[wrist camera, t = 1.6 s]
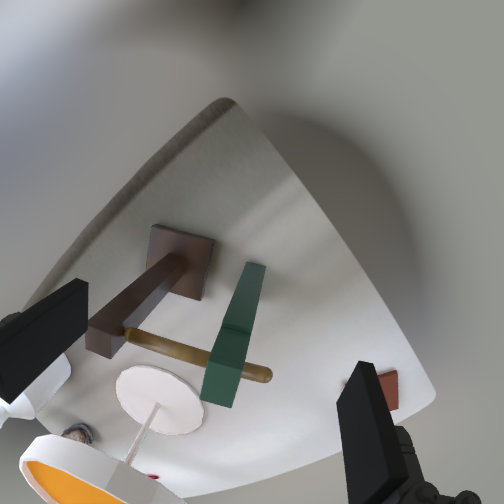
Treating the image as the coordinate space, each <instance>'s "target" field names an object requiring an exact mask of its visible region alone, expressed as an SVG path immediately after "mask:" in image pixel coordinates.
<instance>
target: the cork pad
mask: <svg viewBox="0 0 504 504" xmlns="http://www.w3.org/2000/svg"><path fill="white" fill-rule="evenodd" d="M378 378H379V381H380V384H381V387H382V390H383V393H384V396H385V399H386V402H387V405H388V408H389V411H392V410H396V409H398V373H397V371H396V370H395V371H392V372H389V373H385V374H382V375H378ZM345 386H346V384H345Z"/></svg>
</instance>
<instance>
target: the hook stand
mask: <svg viewBox="0 0 504 504" xmlns="http://www.w3.org/2000/svg"><path fill="white" fill-rule="evenodd" d="M214 241H215V240H213V239H209V238H205V237H202V236H198V235H194V234H190V233H186V232H183V231H179V230H175V229H171V228H167V227H164V226H160V225H156V224H155V225H153V226H152V227H151V234H150V240H149V247H148V255H147V262H146V270H145V273H143V274H142V275H141V276H140V277H139V278H137V279H136V280H135V281H134V282H133V283H131V284H130V285H129V286H128V287H127V288H125V289H124V290H123V291H122V292H121V293H120V294H118V295H117V296H116V297H115V298H114V299H112V300H111V301H110V302H109V303H108V304H107V305H105V306H104V307H103V308H102V309H101V310H100V311H98V312H97V313H96V314H95V315H94V316H93V317H92V318H90V319H89V320H88V330H87V331H86V332H85V348H86V349H87V350H90V351H92V352H94V353H97V354H99V355H101V356H104V357H106V358H108V359H112V357H113V356H114V355H115V354H116V353H117V351H118V350H119V349H120V348H121V347H122V346H123V344H124V343H125V342H126V341H127V342H129V343H132V344H135V345H138V346H140V347H143V348H146V349H149V350H152V351H154V352H157V353H160V354H163V355H166V356H169V357H172V358H175V359H178V360H181V361H185V362H188V363H191V364H194V365H198V366H201V367H204V368H206V366H207V361H208V358H209V356H210V353H211V352H208V351H205V350H201V349H198V348H195V347H192V346H188V345H185V344H182V343H179V342H176V341H172V340H169V339H166V338H163V337H160V336H157V335H154V334H151V333H149V332H146V331H143V330H140V329H137V328H138V327H139V326H140V324H141V323H142V322H143V321H144V320H145V319H146V317H147V316H148V315H149V314H150V313H151V312H152V310H153V309H154V308H155V307H156V306H157V305H158V304H159V302H160V301H161V300H162V299H163V298H164V297H165V296H166V294H167V293H168V292H171V293H175V294H178V295H181V296H185V297H188V298H191V299H195V300H198V301H201V300H202V298H203V294H204V289H205V284H206V279H207V274H208V270H209V265H210V260H211V255H212V250H213V246H214ZM272 377H273V373H272V371H271V369H270V368H268V367H264V366H260V365H256V364H252V363H248V362H245V363H244V368H243V372H242V375H241V378H244V379H248V380H252V381H256V382H260V383H268V382H269V381H271V379H272Z"/></svg>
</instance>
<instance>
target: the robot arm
mask: <svg viewBox="0 0 504 504" xmlns="http://www.w3.org/2000/svg"><path fill="white" fill-rule="evenodd" d="M87 330H88V282H86V281H83V280H81V279H78V278H75V279H74V280H72V281H71V282H69V283H67V284H66V285H64V286H63V287H61V288H59V289H58V290H56V291H55V292H53V293H52V294H50V295H49V296H47V297H45V298H44V299H42V300H41V301H39V302H38V303H36V304H35V305H33V306H32V307H30V308H29V309H27V310H26V311H24V312H23V313H20V312H17V313H13V314H10V315H8V316H7V317H5V318H3V319H2V320H1V321H0V398H1V399H2V400H4V401H5V402H6V403H8V404H9V405H10V404H11V403H12V402H13V401H14V400H15V399H16V398H17V397H18V396H19V395H20V394H21V393H22V392H23V391H24V390H25V389H26V388H27V387H28V386H29V385H30V384H31V383H32V382H33V381H34V380H35V379H36V378H37V377H38V376H39V375H41V374H42V373H43V372H44V371H45V370H46V369H47V368H48V367H49V366H50V365H51V364H52V363H53V362H54V361H55V360H56V359H57V358H58V357H59V356H60V355H61V354H62V353H63V352H64V351H66V350H67V349H68V348H69V347H70V346H71V345H72V344H73V343H74V342H75V341H76V340H77V339H78V338H79V337H81V336H82V335H83V334H84V333H85V332H86V331H87ZM336 405H337V412H338V419H339V426H340V433H341V441H342V448H343V456H344V465H345V473H346V481H347V482H346V483H347V492H348V502H349V504H481V500H480V498H479V496H478V495H477V494H475V493H474V492H472V491H467V490H465V491H462V492H461V493H460V494H458V495H457V496H456V497H450V496H445V495H440V494H439V492H438V490H437V488H436V487H435V486H434V485H432V484H431V483H429V482H426V481H425V480H424V477H423V474H422V471H421V467H420V464H419V462H418V458H417V455H416V454H415V449H414V447H413V443H412V440H411V437H410V435H409V434H408V432H407V431H406V430H405V428H404V427H403V426H394V423H393V420H392V417H391V414H390V411H389V408H388V405H387V402H386V399H385V396H384V393H383V390H382V387H381V384H380V381H379V378H378V375H377V373H376V370H375V367H374V364H373V363H369V362H364V361H358V363H357V365H356V367H355V369H354V371H353V373H352V375H351V377H350V379H349V380H348V382H347V384H346V386H345V388H344V390H343V392H342V393H341V395H340V397H339V399H338V401H337V402H336Z"/></svg>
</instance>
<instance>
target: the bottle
mask: <svg viewBox="0 0 504 504" xmlns="http://www.w3.org/2000/svg"><path fill="white" fill-rule="evenodd" d="M70 375H71V366H70V363H69V361H68V359H67V357H66V356H65V354H64V353H62V354H61V355H60V356H59V357H58V358H57V359H56V360H55V361H54V362H53V363H52V364H51V365H50V366H49V367H48V368H47V369H46V370H45V371H44V372H43V373H42V374H41V375H39V376H38V377H37V378H36V379H35V380H34V381H33V382H32V383H31V384H30V385H29V386H28V387H27V388H26V389H25V390H24V391H23V392H22V393H21V394H20V395H19V396H18V397H17V398H16V399H15V400H14V401H13V402H12V403H11V404H10V405H9V404H8V403H6V402H5V401H4V400H2V399H1V398H0V428H1V427H2V424H3V423H4V422H5V420H6V419H7V418H8V417H15V418H24V419H29V420H32V419H34V418H35V416H36V415H37V414H38V413H39V412H40V410H41V409H42V408H43V407H44V406H45V405H46V403H47V402H48V401H49V400H50V399H51V397H52V396H53V395H54V394H55V393H56V392H57V390H58V389H59V388H60V387H61V386H62V385H63V384H64V382H65V381H66V380H67V379H68V378H69V377H70Z"/></svg>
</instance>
